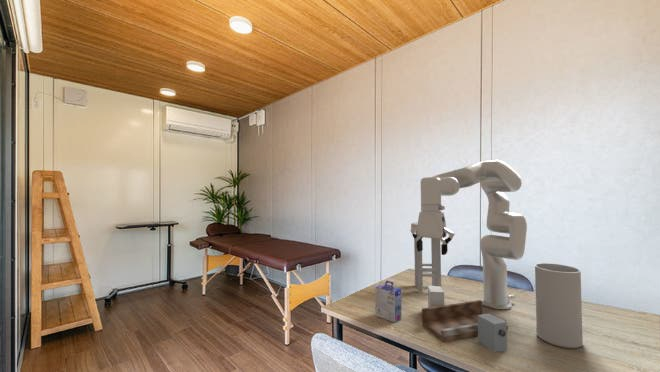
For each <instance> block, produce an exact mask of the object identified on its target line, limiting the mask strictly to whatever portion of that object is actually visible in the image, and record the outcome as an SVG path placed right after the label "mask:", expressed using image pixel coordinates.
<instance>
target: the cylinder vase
mask: <svg viewBox="0 0 660 372" xmlns="http://www.w3.org/2000/svg"><path fill="white" fill-rule="evenodd" d="M534 272H535V273H534V276H535V277H534V279H535V280H534V281H535V285H534V286H535V317H536V319H535V320H536V321H535V322H536V334H537V336H538V337H539V338H540V339H541V340H542V341H545V342H546V343H548V344H550V345H553V346H557V347H560V348H564V349H578V348H581V347H582V346H583V343H584V342H583V340H584V339H583V337H584V336H583V312H582V311H583V310H582V309H583V306H582V279H581V278H582V276H581V275H582V274H581V269H579V268H578V267H574V266H570V265H567V264H566V265H565V264H559V263H550V262H549V263H547V262H540V263H536V264H535V265H534Z"/></svg>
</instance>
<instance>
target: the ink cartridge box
mask: <svg viewBox="0 0 660 372" xmlns="http://www.w3.org/2000/svg"><path fill="white" fill-rule="evenodd" d="M374 288H375V291H374V300H375V301H374V303H375V304H374V308H375V309H374V315H375V317H378V318H382V319H384V320H387V321H390V322H393V323H396V322H398V321H400V320H402V318H403V317H402V288H398V287H394V281H391V280H387V279H386V281H385V283H384V284H379V285H377V286H375V287H374Z"/></svg>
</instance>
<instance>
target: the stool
mask: <svg viewBox="0 0 660 372" xmlns="http://www.w3.org/2000/svg"><path fill="white" fill-rule="evenodd" d="M417 226H418V221H417V222H411V223H410V230H411V229H413V228H415V227H417ZM415 232H416V234H417V235H418V230H416V231H415ZM413 238H414V237H413ZM413 240H414V241H413V242H414V243H413V245H414V247H413V248H414V252H413V253H414V286H415V287H416V288H417V293H421V294H422V293H424V292H423V291H424V290H423V289H424V287H423V286H424V285H423V284H424V283H423V280H424V279H423V277H426V278H427V277H429V278H430V277H431V286H440V287H441V288H442V264H441V263H442V262H441V261H442V257H441V255H442V254H441V240H440V239H435V238H430V241H431V242H430V244H431V245H430V246H431V263H423V250H422V251H418V250H417V241H416V240H415V238H414V239H413ZM421 240H422V241H423V238H422V239H421Z"/></svg>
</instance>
